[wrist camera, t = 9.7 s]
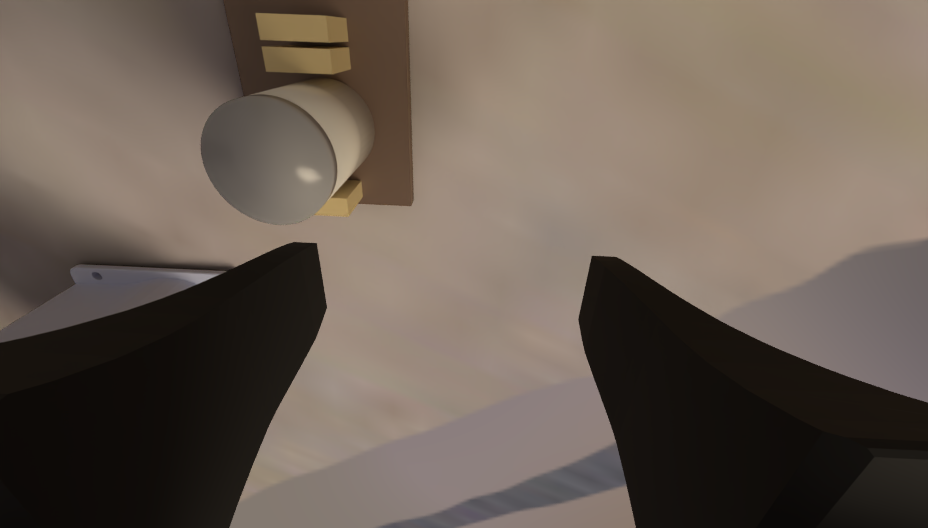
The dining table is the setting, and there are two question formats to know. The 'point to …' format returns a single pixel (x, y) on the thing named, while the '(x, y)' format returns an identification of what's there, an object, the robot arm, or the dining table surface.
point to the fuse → (287, 148)
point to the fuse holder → (338, 76)
